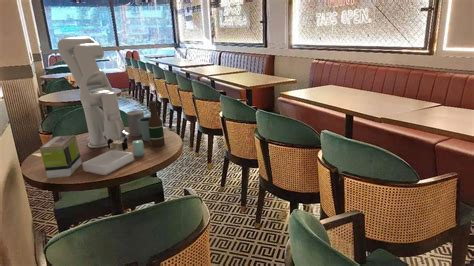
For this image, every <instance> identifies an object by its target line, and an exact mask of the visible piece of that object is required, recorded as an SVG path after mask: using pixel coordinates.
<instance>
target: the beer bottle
mask: <svg viewBox="0 0 474 266" xmlns="http://www.w3.org/2000/svg"><path fill="white" fill-rule="evenodd" d="M148 105H149V110H150V111H149V112H150V116H149V117H150V119H149V122H148V127H149V135H150V141H149V142H150V146H151V147H153V148H159V147H160V148H161V147H163V146H165V134H164V125H163V121H162V120H163V119H162V118H161V117H160V116H159V114H158V107H157V102H156V101H155V100H151V101H149V102H148Z"/></svg>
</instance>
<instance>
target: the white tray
mask: <svg viewBox="0 0 474 266" xmlns="http://www.w3.org/2000/svg"><path fill="white" fill-rule="evenodd" d="M134 161H135V158H134V152H130V151H124V152H123V151H116V150H111V149H109V151H106V152H103V153H102V154H100V155H97V156H95V157H92V158H91V159H89V160H86V161H84V162H82V164H81V165H82V169H83V172H86V173H92V174H97V175H103V176H108V175H110V174H112V173H114V172H115V171H118V170H119V169H121V168H123V167H126V166H127V165H129V164H130V163H132V162H134Z"/></svg>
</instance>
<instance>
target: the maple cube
mask: <svg viewBox="0 0 474 266" xmlns="http://www.w3.org/2000/svg"><path fill="white" fill-rule="evenodd" d="M122 143H123V142H122V141H121V140H115V141H113V143H111V144H110V149H109V150H116V151H123V152H126V150H123V149H122Z"/></svg>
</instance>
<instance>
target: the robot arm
mask: <svg viewBox="0 0 474 266" xmlns="http://www.w3.org/2000/svg"><path fill="white" fill-rule="evenodd" d="M56 46H57V50H58V54H59V56H60V58H61V60H63V62H64V63H65V65H67V67H68V69H69V71H70V73H71V76H72V77H73V80H74V82H75V84H76V85H77V86H78V88H79V100H80V102H81V104H82V107H83V112H84V115H85V116H84V117H85V121H86V125H87V126H86V127H87V131H88V137H86V141H89V142H88V144H87V146H88V148H91V149H97V148H99V149H100V148H105V147H107V146H108V149H109V150H111V149H110V144H111V143H113V142H114V140H115V141H122V142H123V143H122V149H123V150H125V151H126V150H128V149H129V147H128V141H129V139H130V133H129V132H127V131H126V129H125V126H124V122H123V119H122V118H121V117H122V116H121V112H120V105H119V99H118V95H117V93H116V92H115V91H114V89H113V87H112V85H111V83H110V81H109V78H108V76H107V74H106V72H105V71H104V70H103V69H101V68H100V67H99V65H98V63H97V60H102V59H103V58H104V56H105V52H104V48H103V46H102V45H101V44H100V43H99V42H98V41H96V40H94V39H93V37H90V36H73V37H64V38H61V39H59V40H58V41H57V45H56ZM100 107H102V108H100Z"/></svg>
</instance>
